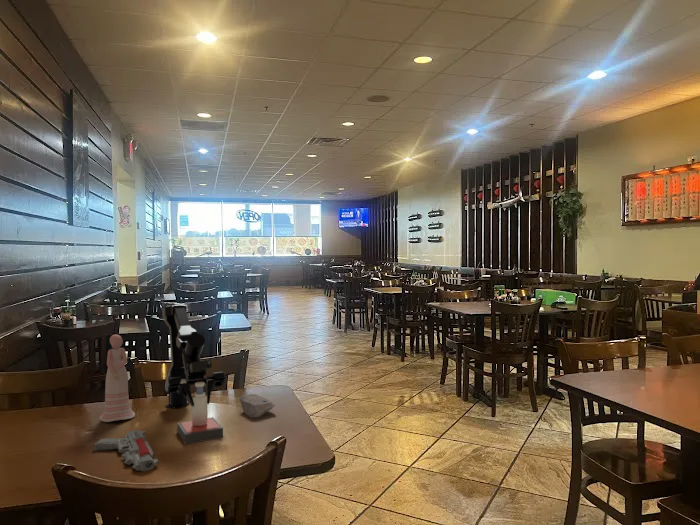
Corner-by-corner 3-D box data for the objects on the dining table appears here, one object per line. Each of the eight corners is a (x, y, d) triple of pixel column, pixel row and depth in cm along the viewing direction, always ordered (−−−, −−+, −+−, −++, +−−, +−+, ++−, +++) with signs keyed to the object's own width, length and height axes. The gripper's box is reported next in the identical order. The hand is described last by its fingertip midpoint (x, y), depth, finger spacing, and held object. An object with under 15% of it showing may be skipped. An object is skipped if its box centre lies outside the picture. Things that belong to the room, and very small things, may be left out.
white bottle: (189, 425, 168) (189, 384, 167) (195, 420, 173) (195, 380, 172) (204, 426, 168) (204, 385, 167) (209, 420, 172) (209, 381, 172)
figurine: (114, 410, 194) (114, 331, 193) (144, 412, 191) (143, 332, 190) (89, 421, 181) (88, 337, 180) (121, 424, 179) (120, 339, 177)
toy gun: (100, 471, 137) (159, 457, 145) (92, 437, 160) (144, 427, 168) (101, 483, 137) (160, 469, 145) (93, 448, 160) (144, 437, 168)
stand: (177, 431, 172) (177, 422, 172) (212, 425, 178) (212, 416, 178) (185, 444, 162) (185, 434, 162) (223, 437, 168) (223, 427, 168)
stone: (276, 414, 192) (276, 398, 192) (255, 420, 185) (255, 403, 185) (256, 406, 201) (256, 391, 201) (235, 412, 194) (235, 396, 194)
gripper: (167, 353, 168) (174, 396, 159) (224, 348, 177) (233, 388, 168) (163, 372, 175) (169, 413, 166) (217, 366, 184) (226, 405, 175)
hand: (200, 404), depth 169 cm, fingers closed on white bottle, 5 cm apart
